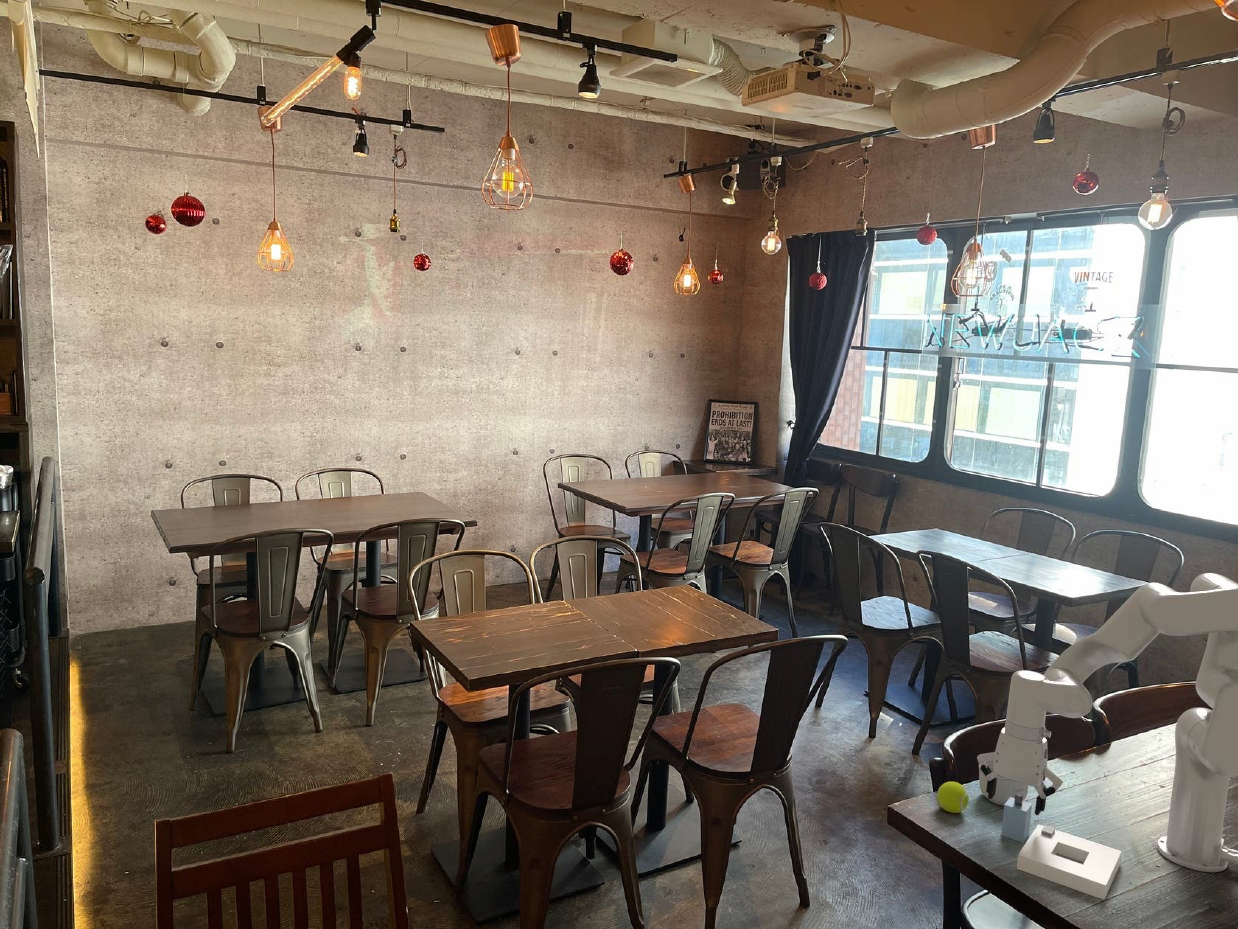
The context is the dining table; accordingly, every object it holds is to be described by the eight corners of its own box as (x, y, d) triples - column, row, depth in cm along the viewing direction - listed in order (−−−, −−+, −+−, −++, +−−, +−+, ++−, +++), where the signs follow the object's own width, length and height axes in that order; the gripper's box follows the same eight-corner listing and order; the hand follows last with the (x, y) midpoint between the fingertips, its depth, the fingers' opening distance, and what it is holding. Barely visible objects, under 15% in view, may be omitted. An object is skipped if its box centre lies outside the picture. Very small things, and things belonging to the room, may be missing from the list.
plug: (1028, 834, 199) (1032, 795, 198) (1023, 842, 196) (1027, 802, 195) (1007, 827, 202) (1011, 788, 201) (1001, 835, 199) (1005, 795, 197)
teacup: (1019, 816, 207) (1022, 782, 206) (970, 801, 214) (973, 768, 213) (1034, 794, 218) (1037, 761, 217) (987, 779, 225) (990, 748, 224)
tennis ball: (942, 801, 213) (945, 773, 212) (971, 811, 209) (974, 783, 208) (931, 811, 208) (933, 783, 207) (960, 822, 204) (963, 793, 203)
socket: (1120, 865, 188) (1122, 847, 188) (1104, 900, 176) (1106, 881, 175) (1037, 837, 198) (1038, 820, 198) (1016, 868, 186) (1018, 851, 185)
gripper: (1072, 737, 194) (1061, 813, 196) (987, 712, 204) (978, 785, 206) (1063, 748, 188) (1053, 826, 190) (977, 722, 198) (968, 796, 201)
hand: (1014, 804), depth 198 cm, fingers open, 9 cm apart
